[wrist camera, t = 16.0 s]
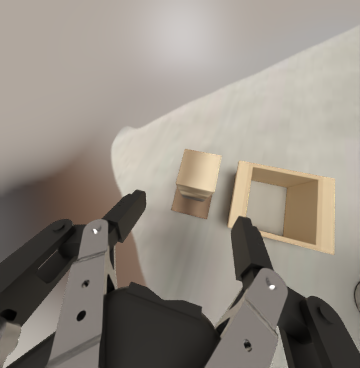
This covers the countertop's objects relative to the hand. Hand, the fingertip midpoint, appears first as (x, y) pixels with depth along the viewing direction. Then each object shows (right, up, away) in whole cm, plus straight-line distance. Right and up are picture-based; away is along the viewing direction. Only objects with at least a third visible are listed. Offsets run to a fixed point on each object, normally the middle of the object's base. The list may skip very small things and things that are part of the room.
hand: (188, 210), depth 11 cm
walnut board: (+3, +1, +23) cm, 23 cm away
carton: (+19, -3, +21) cm, 28 cm away
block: (+3, +1, +21) cm, 21 cm away
